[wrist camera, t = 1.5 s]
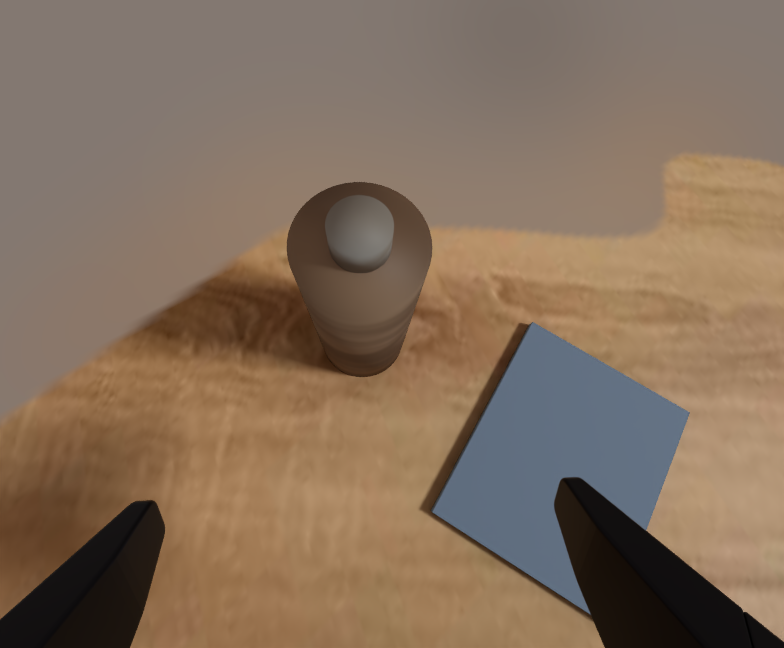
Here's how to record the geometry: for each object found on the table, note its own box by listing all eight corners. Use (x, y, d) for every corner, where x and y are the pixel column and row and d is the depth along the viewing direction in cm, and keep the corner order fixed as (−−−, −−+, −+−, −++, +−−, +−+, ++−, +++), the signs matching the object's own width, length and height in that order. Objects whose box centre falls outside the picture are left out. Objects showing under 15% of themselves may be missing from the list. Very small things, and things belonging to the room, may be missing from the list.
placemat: (604, 623, 21) (610, 627, 20) (430, 510, 22) (432, 512, 21) (683, 413, 24) (689, 412, 24) (529, 324, 25) (532, 321, 25)
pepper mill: (375, 392, 23) (385, 330, 11) (307, 349, 24) (246, 245, 12) (416, 325, 25) (466, 205, 13) (351, 286, 25) (337, 133, 13)
